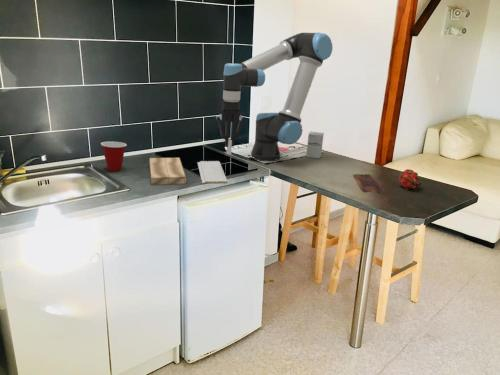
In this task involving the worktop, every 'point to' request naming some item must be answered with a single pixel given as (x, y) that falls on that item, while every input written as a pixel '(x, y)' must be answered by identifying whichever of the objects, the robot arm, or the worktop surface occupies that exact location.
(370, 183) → the wooden tablet
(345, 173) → the worktop surface
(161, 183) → the oak floor section
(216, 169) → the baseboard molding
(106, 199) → the worktop surface
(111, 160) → the plastic cup
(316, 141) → the supplement box
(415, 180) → the dragon fruit
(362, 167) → the worktop surface
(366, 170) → the worktop surface
